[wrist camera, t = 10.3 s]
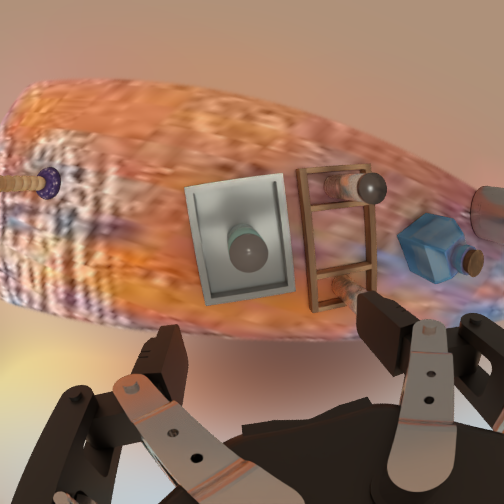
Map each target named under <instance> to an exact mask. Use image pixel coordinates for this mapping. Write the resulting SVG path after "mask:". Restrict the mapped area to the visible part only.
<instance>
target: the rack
mask: <svg viewBox="0 0 504 504" xmlns="http://www.w3.org/2000/svg"><path fill="white" fill-rule="evenodd" d="M357 169H360V172H361V174H365V173H372V171H371V164H355V165H339V166H325V167H313V168H302V169H296V173H297V181H298V189H299V198H300V206H301V215H302V225H303V235H304V245H305V256H306V267H307V280H308V294H309V308H310V310H311V311H312V313H316V312H321V311H326V310H331V309H335V308H340V307H344V306H347V305H346V304H345V303H344V302H343V301H342V300H341V299H340V298H338V299H333V300H328V301H323V302H318V288H317V280H318V279H323V278H328V277H334V276H339V275H344V274H349V273H354V272H359V271H364V270H367V291H372V290H374V291H376V292H377V242H376V219H375V205H373V204H367V203H364V202H357V201H342V202H333V203H324V204H316V205H310V196H309V187H308V179H307V173H317V172H329V171H342V170H357ZM363 205H364V217H365V234H366V262H361V263H356V264H350V265H345V266H340V267H334V268H329V269H323V270H318V271H316V259H315V247H314V235H313V225H312V215H311V212H313V211H321V210H329V209H337V208H346V207H354V206H363Z"/></svg>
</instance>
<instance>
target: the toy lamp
mask: <svg viewBox="0 0 504 504" xmlns="http://www.w3.org/2000/svg"><path fill="white" fill-rule="evenodd" d="M59 188H60V175H59V173H58V171H57V170H56V169H55V168H52V167H48V168H45V169H43V170H42V171H40V173H39V174H38V175H37V177H35V176H29V177H28V176H21V177H20V176H18V175H16V176H13V177H12V176H10V175H7V176H2V175H0V192H2V191H4V192H9V191H13V192H17V191H19V190H20V191H26V190H29V191H33V190H36V192H37V194H38V195H39V196H40V197H41V198H43V199H51V198H53V197H54V196H56V194H57V193H58V191H59Z"/></svg>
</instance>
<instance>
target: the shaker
mask: <svg viewBox="0 0 504 504" xmlns="http://www.w3.org/2000/svg"><path fill="white" fill-rule="evenodd" d="M227 244H228V252H229V258H230V260H231V263H232V264H233V266H234V267H235V268H236V269H238V270H239V271H241V272H245V273H252V272H256V271H258V270H260V269H261V268H262V267H263V266H264V265H265V263H266V262H267V259H268V248H267V245H266V243H265V241H264V240H263V239H262V237H261V236H260V235H259V234H258V232H257V231H256V230H255V229H254V228H253V227H252V226H251V225H249V224H244V223H242V224H237V225H235V226H234V227H232V228H231V229H230V231H229V232H228V235H227Z"/></svg>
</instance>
